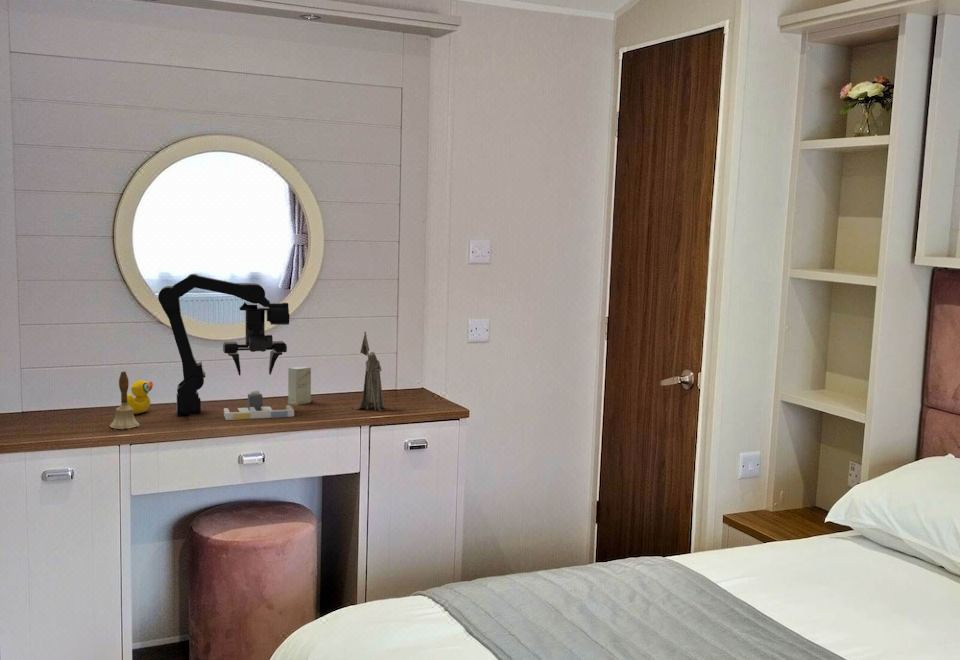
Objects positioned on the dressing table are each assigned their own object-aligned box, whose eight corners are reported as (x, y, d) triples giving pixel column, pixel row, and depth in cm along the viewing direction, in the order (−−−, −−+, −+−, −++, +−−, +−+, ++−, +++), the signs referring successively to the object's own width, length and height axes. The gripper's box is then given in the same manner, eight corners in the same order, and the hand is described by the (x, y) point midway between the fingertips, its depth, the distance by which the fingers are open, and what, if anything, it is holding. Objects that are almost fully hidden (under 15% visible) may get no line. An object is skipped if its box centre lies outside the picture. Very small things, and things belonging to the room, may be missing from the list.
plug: (249, 411, 292) (249, 392, 291) (247, 408, 295) (247, 389, 295) (262, 410, 293) (262, 391, 292) (261, 408, 297) (260, 389, 296)
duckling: (145, 408, 295) (144, 377, 294) (159, 410, 293) (158, 378, 292) (118, 415, 285) (117, 382, 283) (132, 417, 282) (132, 384, 281)
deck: (240, 414, 289) (240, 412, 289) (237, 410, 296) (237, 408, 296) (273, 412, 293) (273, 410, 293) (270, 408, 299) (270, 406, 299)
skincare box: (296, 406, 303) (296, 369, 301) (287, 404, 305) (287, 367, 304) (311, 404, 308) (311, 367, 306) (302, 402, 310) (302, 365, 309)
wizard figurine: (358, 413, 295) (358, 333, 292) (350, 407, 303) (350, 330, 300) (389, 410, 300) (390, 332, 297) (380, 405, 307) (381, 329, 304)
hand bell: (145, 426, 271) (144, 371, 269) (118, 431, 265) (116, 375, 263) (131, 422, 276) (129, 368, 274) (103, 426, 270) (102, 371, 268)
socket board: (227, 424, 276) (227, 415, 276) (223, 416, 286) (223, 408, 286) (295, 420, 283) (295, 412, 283) (290, 413, 293) (290, 405, 293)
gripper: (226, 328, 280) (226, 380, 282) (289, 327, 287) (289, 378, 289) (222, 323, 291) (222, 374, 292) (284, 323, 297) (283, 372, 299)
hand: (254, 374), depth 293 cm, fingers open, 9 cm apart
